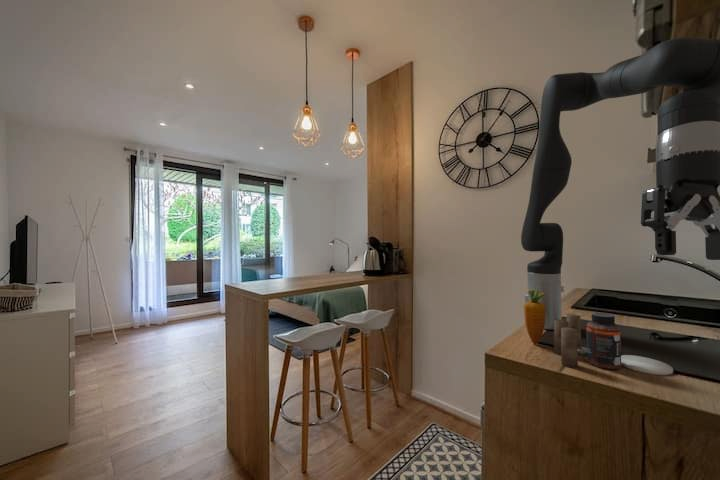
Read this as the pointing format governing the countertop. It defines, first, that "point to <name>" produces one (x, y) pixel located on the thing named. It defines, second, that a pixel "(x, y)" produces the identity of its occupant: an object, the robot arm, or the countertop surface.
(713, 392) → the countertop surface
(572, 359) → the post
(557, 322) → the post
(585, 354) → the nut
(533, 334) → the carrot
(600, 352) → the supplement bottle
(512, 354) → the countertop surface
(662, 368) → the coaster
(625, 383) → the countertop surface
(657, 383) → the countertop surface
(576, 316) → the post
